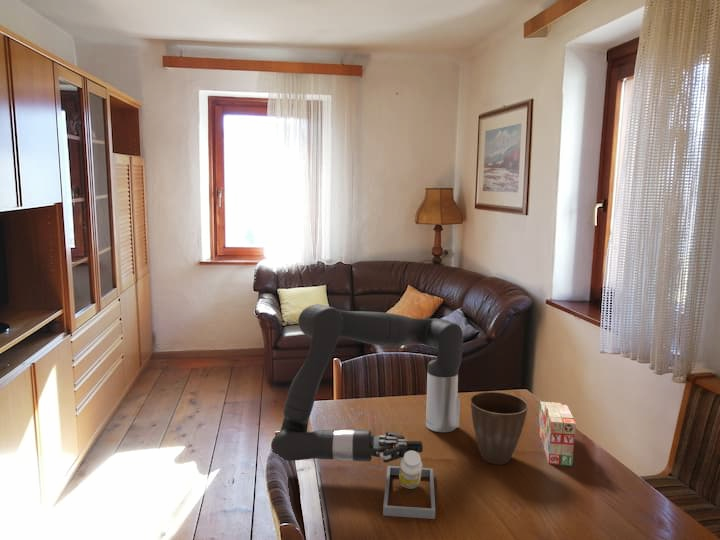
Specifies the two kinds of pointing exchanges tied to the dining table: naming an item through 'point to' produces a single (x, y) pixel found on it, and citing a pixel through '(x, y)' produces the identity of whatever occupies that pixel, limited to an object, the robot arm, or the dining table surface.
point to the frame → (409, 511)
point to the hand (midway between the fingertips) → (422, 446)
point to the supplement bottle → (410, 470)
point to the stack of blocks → (557, 432)
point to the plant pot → (497, 424)
